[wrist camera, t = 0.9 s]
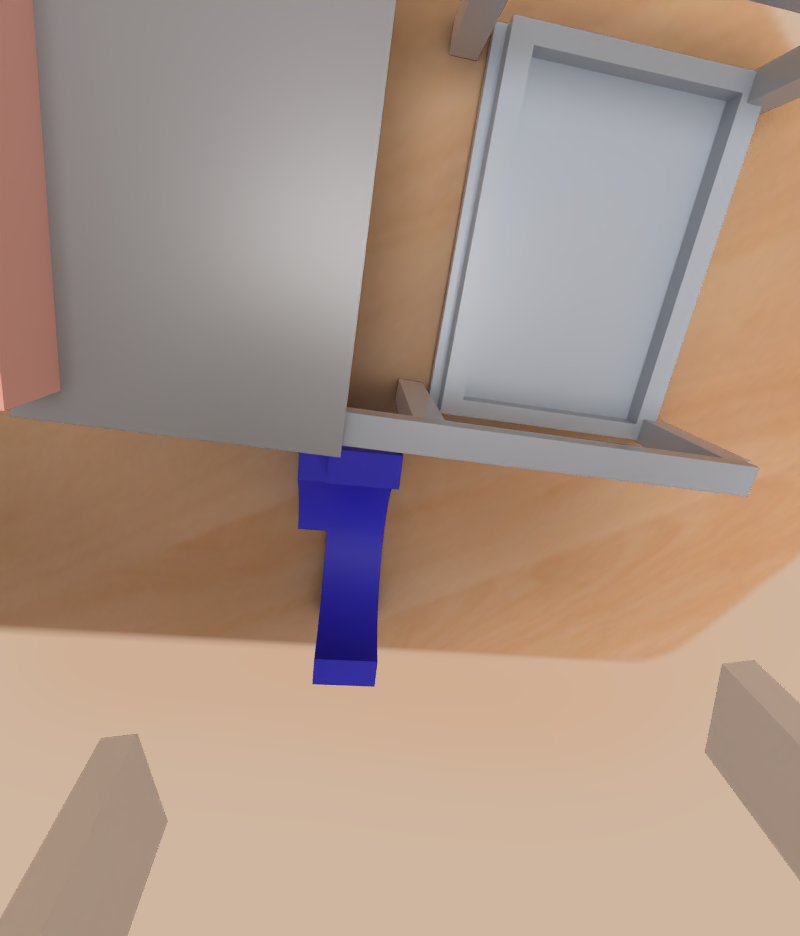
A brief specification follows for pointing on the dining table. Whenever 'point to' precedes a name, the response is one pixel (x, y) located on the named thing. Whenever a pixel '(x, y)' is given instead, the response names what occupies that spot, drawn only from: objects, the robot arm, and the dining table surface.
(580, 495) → the dining table surface
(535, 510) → the dining table surface
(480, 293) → the grey frame rack
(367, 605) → the blue bracket
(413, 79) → the dining table surface
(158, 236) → the lid
